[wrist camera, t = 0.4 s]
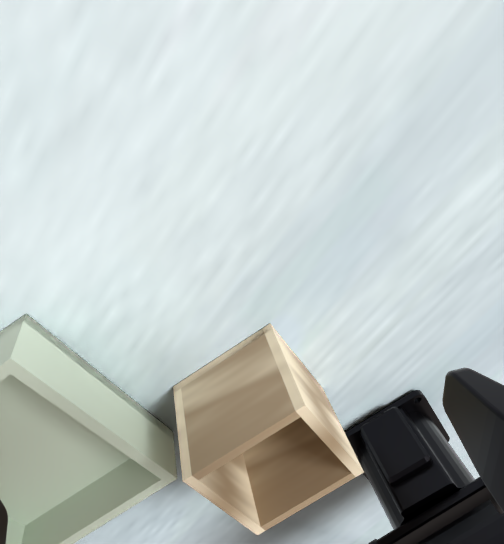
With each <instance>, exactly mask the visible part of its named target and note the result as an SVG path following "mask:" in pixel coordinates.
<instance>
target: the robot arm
mask: <svg viewBox="0 0 504 544" xmlns="http://www.w3.org/2000/svg"><path fill="white" fill-rule="evenodd" d="M443 406H444V409H445V412H446V414H447V416H448V418H449V419H450V421H451V423H452V425H453V427H454V429H455V431H456V433H457V434H458V436H459V438H460V440H461V442H462V444H463V446H464V448H465V449H466V451H467V453H468V455H469V457H470V459H471V461H472V463H473V464H474V466H475V468H476V470H477V472H478V473H479V475H480V477H479V478H477V479H476V480H475V479H474V478H473V476H472V475H471V473H470V472H469V471H468V469H467V468H466V467H465V465H464V464H463V462H462V461H461V460H460V458H459V457H458V455H457V454H456V453H455V451H454V450H453V449H452V447H451V446H450V444H449V443H448V441H449V439H450V438H449V436H448V434H447V433H446V431H445V429H444V428H443V426H442V424H441V423H440V421H439V419H438V418H437V416H436V414H435V413H434V411H433V409H432V408H431V406H430V404H429V403H428V401H427V399H426V398H425V396H424V395H423V393H422V392H421V391H420V390H415V391H413V392H411V393H409V394H408V395H406V396H404V397H403V398H401V399H399V400H398V401H396V402H394V403H393V404H391V405H389V406H388V407H386V408H385V409H383V410H381V411H380V412H378V413H376V414H375V415H373V416H371V417H370V418H368V419H366V420H365V421H363V422H361V423H360V424H358V425H357V426H355V427H353V428H352V429H350V430H348V431H347V432H345V434H346V436H347V438H348V440H349V443H350V445H351V447H352V449H353V451H354V453H355V455H356V457H357V459H358V461H359V463H360V465H361V467H362V469H363V471H364V473H363V474H364V475H365V476H366V477H367V479H368V480H369V481H370V483H371V485H372V487H373V489H374V491H375V493H376V495H377V497H378V499H379V501H380V503H381V505H382V507H383V509H384V511H385V513H386V515H387V517H388V519H389V521H390V523H391V525H392V527H393V529H394V530H393V531H391V532H389V533H388V534H386V535H385V536H383V537H381V538H380V539H378V540H377V539H375V540H373V541H371V542H370V543H368V544H504V385H502V384H500V383H498V382H496V381H494V380H492V379H490V378H488V377H486V376H484V375H482V374H480V373H478V372H476V371H474V370H472V369H469V368H461V369H457V370H453V371H450V372H448V373H447V375H446V378H445V386H444V393H443ZM7 526H8V514H7V510H6V508H5V506H4V505H3V503H2V501H1V500H0V544H6V536H7Z"/></svg>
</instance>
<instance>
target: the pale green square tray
mask: <svg viewBox="0 0 504 544" xmlns="http://www.w3.org/2000/svg"><path fill="white" fill-rule="evenodd" d="M176 479H177V470H176V459H175V448H174V437H173V431H171V430H170V429H169V428H168V427H166V426H165V425H164V424H163V423H161V422H160V421H159V420H158V419H157V418H155V417H154V416H153V415H152V414H150V413H149V412H148V411H147V410H145V409H144V408H143V407H142V406H140V405H139V404H138V403H137V402H135V401H134V400H133V399H132V398H130V397H129V396H128V395H127V394H125V393H124V392H123V391H122V390H121V389H119V388H118V387H117V386H116V385H114V384H113V383H112V382H111V381H109V380H108V379H107V378H106V377H104V376H103V375H102V374H101V373H99V372H98V371H97V370H96V369H94V368H93V367H92V366H91V365H89V364H88V363H87V362H86V361H84V360H83V359H82V358H81V357H80V356H78V355H77V354H76V353H75V352H73V351H72V350H71V349H70V348H68V347H67V346H66V345H65V344H63V343H62V342H61V341H60V340H58V339H57V338H56V337H55V336H53V335H52V334H51V333H50V332H48V331H47V330H46V329H45V328H43V327H42V326H41V325H40V324H39V323H37V322H36V321H35V320H34V319H32V318H31V317H30V316H29V315H27V314H25V315H23V316H22V317H20V318H19V319H18V320H16V321H15V322H13V323H12V324H11V325H9V326H8V327H6V328H5V329H3V330H2V331H1V332H0V500H1V501H2V503H3V505H4V506H5V508H6V510H7V514H8V526H7V536H6V544H73V543H75V542H77V541H78V540H80V539H81V538H83V537H85V536H86V535H88V534H89V533H91V532H93V531H94V530H96V529H98V528H99V527H101V526H102V525H104V524H106V523H107V522H109V521H110V520H112V519H114V518H115V517H117V516H118V515H120V514H122V513H123V512H125V511H126V510H128V509H130V508H131V507H133V506H134V505H136V504H138V503H139V502H141V501H142V500H144V499H146V498H147V497H149V496H150V495H152V494H154V493H155V492H157V491H159V490H160V489H162V488H163V487H165V486H167V485H168V484H170V483H171V482H173V481H175V480H176Z"/></svg>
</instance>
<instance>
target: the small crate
mask: <svg viewBox="0 0 504 544" xmlns="http://www.w3.org/2000/svg"><path fill="white" fill-rule="evenodd" d="M173 391H174V401H175V411H176V421H177V431H178V440H179V450H180V460H181V470H182V480H183V482H185V483H186V484H187V485H189V486H190V487H191V488H193V489H194V490H196V491H197V492H198V493H200V494H201V495H202V496H204V497H205V498H207V499H208V500H209V501H211V502H212V503H213V504H215V505H216V506H218V507H219V508H220V509H222V510H223V511H225V512H226V513H227V514H229V515H230V516H231V517H233V518H234V519H236V520H237V521H238V522H240V523H241V524H242V525H244V526H245V527H247V528H248V529H249V530H251V531H252V532H253V533H255V534H256V535H259V534H261V533H263V532H264V531H266V530H268V529H269V528H271V527H273V526H274V525H276V524H278V523H279V522H281V521H283V520H284V519H286V518H288V517H290V516H291V515H293V514H295V513H296V512H298V511H300V510H301V509H303V508H305V507H306V506H308V505H310V504H311V503H313V502H315V501H317V500H318V499H320V498H322V497H323V496H325V495H327V494H328V493H330V492H332V491H333V490H335V489H337V488H338V487H340V486H342V485H344V484H345V483H347V482H349V481H350V480H352V479H354V478H355V477H357V476H359V475H360V474H362V473H364V471H363V469H362V467H361V465H360V463H359V461H358V459H357V457H356V455H355V453H354V451H353V449H352V447H351V445H350V443H349V440H348V438H347V436H346V434H345V432H344V430H343V428H342V426H341V424H340V422H339V420H338V418H337V416H336V414H335V412H334V410H333V408H332V406H331V404H330V402H329V400H328V398H327V396H326V394H325V392H324V390H323V388H322V387H321V386H320V384H319V383H318V382H317V381H316V379H315V378H314V377H313V376H312V375H311V373H310V372H309V371H308V370H307V368H306V367H305V366H304V365H303V363H302V362H301V361H300V360H299V358H298V357H297V356H296V355H295V354H294V352H293V351H292V350H291V349H290V347H289V346H288V345H287V344H286V342H285V341H284V340H283V339H282V337H281V336H280V335H279V334H278V333H277V331H276V330H275V329H274V328H273V326H272V325H271V324H268V325H267V326H265V327H264V328H262V329H261V330H259V331H258V332H256V333H255V334H253V335H252V336H250V337H249V338H247V339H245V340H244V341H242V342H241V343H239V344H238V345H236V346H235V347H233V348H232V349H230V350H229V351H227V352H225V353H224V354H222V355H221V356H219V357H218V358H216V359H215V360H213V361H212V362H210V363H209V364H207V365H205V366H204V367H202V368H201V369H199V370H198V371H196V372H195V373H193V374H192V375H190V376H189V377H187V378H185V379H184V380H182V381H181V382H179V383H178V384H176V385H175V386H173Z"/></svg>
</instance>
